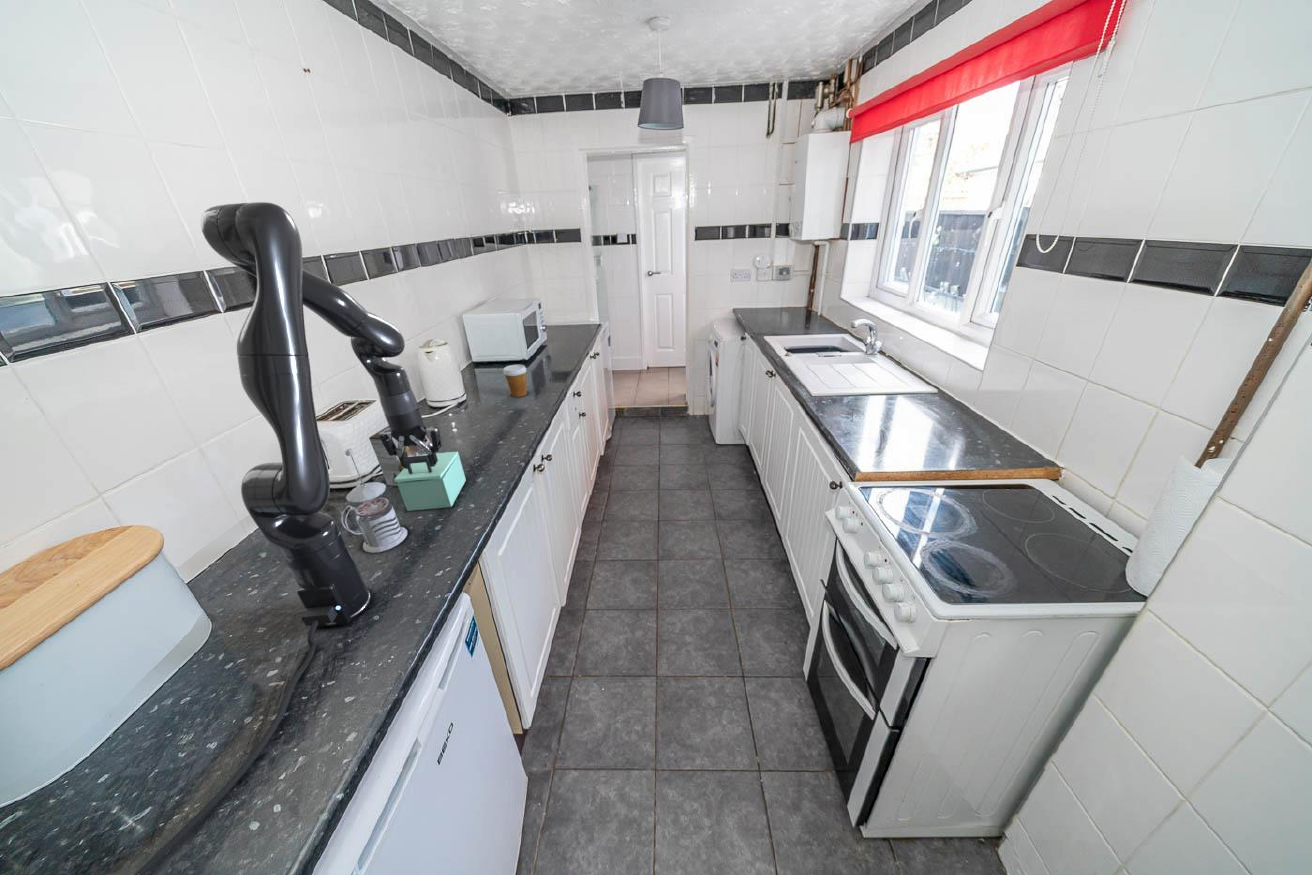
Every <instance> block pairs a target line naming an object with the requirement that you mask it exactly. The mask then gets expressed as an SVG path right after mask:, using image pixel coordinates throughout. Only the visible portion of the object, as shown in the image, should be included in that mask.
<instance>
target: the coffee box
mask: <svg viewBox="0 0 1312 875" xmlns="http://www.w3.org/2000/svg"><path fill="white" fill-rule="evenodd" d="M385 431H388V432H391V429H390V428H389V425H387V426H386V427H384V428H382V429H380V430H378V431H377V432H376V433H374V434H373V435H371V436H369V437H368V440H369V441H370V444H371V446H372V449H373V451H374V454H375V456H376V460H377V462H378V464H379V467H380V470H381V472H382V474H383V477H384V480H385V482H386V486H391V487H398V484H397V483H398V482H395V481H394V479H395V478H396V477H397V476H398V475H399V474H400V473H401V471H402V470H403V469H404V467H402V465H401V463H400V460H399V457H397V456H396V455H393V456H390V455H389V454H388V452H387V450H386V448H385V447H384V445H383V443H382V441H381V439H380V436H381V435H382V434H383V433H384V432H385ZM392 440H393V442H394V443H395V445H396V447H398V441H397V440H396V439H395V438H392ZM405 453H407V455H408V457H412V456H416V455H420V451H419V450H418V445H417V446H414V445H411V446H406V451H405Z"/></svg>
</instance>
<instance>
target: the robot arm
mask: <svg viewBox="0 0 1312 875" xmlns="http://www.w3.org/2000/svg"><path fill="white" fill-rule="evenodd" d="M200 228H201V233H202V235H203V237H204V239H205V241H206V242H207V243H208V245H209V246H210V248H211V249H212V250H213V251H215V253H217V254H218V255H219V256H220V257H221V258H223V259H224V260H225V261H227V262H229V263H230V264H232V265H234V266H236V267H238V269H241V270H243V271H244V272H246V273H248V274H250V275H252V276H254V277H256V293H255V297H254V301H253V304H252V306H251V308H250V310H249V312H248V314H247V316H246V318H245V320H244V323H243V324H242V327H241V329H240V332H239V334H238V338H237V342H236V356H237V363H238V364H237V365H238V370H239V379H240V384H241V386H242V388H243V390H244V392H245V394H246V396H247V397H248V399H249V401H251V403H252V404H253V406H254V407H255V408H256V409H257V411H258V412H259V413H260V415H262V417H263V418H264V419H265V420H266V422H267V423H268V424H269V426H270V427H271V428H272V430H273V432H274V434H275V437H276V438H277V442H278V445H279V450H280V455H281V461H280V462H264V463H260V464H258V465H257V464H256V465H255V466H253V467H252V468H250V469H249V470H248V471H247V472H246V473H245V475H244V476H243V479H242V481H241V486H240V493H241V494H240V495H241V498H242V502H243V505H244V507H245V509H246V511H247V513H248V514H249V516H250V517H251V519H252V520H253V522H254V523H255V525H256V526H257V528H258V529H259V531H260V532H261V534H262V535H263V537H264V538H265V540H266V541H267V542H268V543H269V544H271V545H272V546H273V547H275V548H277V550H278V551H279V553H280V554H281V556H282V558H283V560H284V562H285V563H286V565H287V567H288V569H289V571H290V572H291V574H292V576H293V578H294V579H295V581H296V583H297V586H298V587H299V588H298V589H297V590H296V594H297V595H298V597H299V599H300V601H301V603H302V604H303V606H304V608H305V609H306V610H305V611H304V612H303V614H301V616H300V619H301V620H302V622H303V624H304V626H305V627H308V626H310V627H309V630H308V634H307V643H308V645H309V646H308V647H309V648H308V652H307V656H306V657H305V660H304V661H303V663H302V665H301V666H300V667H299V669H298V670H297V671H296V672H295V674H294V675H293V677H292V679H291V680H290V683H288V685H287V689H286V691H285V693H284V696H283V698H282V701H281V704H280V705H279V708H278V711H277V713H276V715H275V717H274V719H273V721H272V723H271V725H270V726H269V728H268V729H267V731H266V733H265V734H264V735H263V737H262V739H261V740H260V742H259V743H258V744H257V746H256V747H255V749H254V750H253V751H252V753H251V754H250V755H249V756H248V758H247V759H246V760H245V761H244V762H243V764H242V765H241V766H240V768H238V770H237V771H236V772H235V773H234V775H233V776H232V777H231V778H230V779H229V780H228V781H227V783H226V784H225V785H224V786H223V787H222V788H221V789H220V790H219V792H217V794H215V795H214V797H213V798H212V799H211V800H209V802H208V803H207V804H206V805H204V807H203V808H201V810H200V811H199V812H198V813H197V814H195V815H194V816H193V817H192V818H191V819H190V820H189V822H187V823H186V824H185V825H184V826H183V827H182V828H181V829H180V830H179V831H177V833H176V834H175V835H174V836H173V837H172V838H171V839H170V840H169V841H167V843H166V844H164V845H163V847H161V848H160V850H158V851H157V852H156V853H155V854H154V855H153V856H152V857H151V858H150V859H149V860H148V861H147V862H145V863H144V865H143V866H141V867H140V868H139V869H138V870H137V871H136V872H135V873H133V875H138V874H139V875H146V874H148V872H149V871H150V870H151V869H153V867H154V866H155V865H156V864H157V863H158V862H160V861H161V860H162V859H163V858H164V857H165V856H166V855H167V854H168V853H169V852H171V850H172V849H173V848H174V847H175V846H176V845H177V844H179V842H180V841H182V839H183V838H184V837H185V836H186V835H187V834H188V833H189V832H190V831H191V830H192V829H193V828H194V827H195V826H196V825H197V824H198V823H200V821H201V820H202V819H203V818H204V817H206V816H207V814H209V812H211V811H212V810H213V809H214V808H215V806H217V804H219V802H220V801H221V800H222V799H223V798H224V797H225V796H226V795H227V794H228V793H229V791H231V789H233V787H234V786H235V785H236V784H237V783H238V782H239V780H240V779H241V778H242V777H243V776H244V775H245V773H246V772H247V771H248V769H249V768H250V767H251V766H252V764H253V763H254V762H255V761H256V760H257V759H258V757H259V756H260V754H261V753H262V751H264V749H265V748H266V747H267V744H268V743H269V741H270V740H271V738H272V737H273V735H274V733H275V732H276V730H277V728H278V727H279V726H280V723H281V721H282V719H283V717H284V715H285V713H286V711H287V709H288V707H289V703H290V700H291V698H292V695H293V692H294V690H295V687H296V685H297V683H298V682H299V679H300V678H301V677H302V675H303V674H304V672H305V671H306V669H307V667H308V666H309V664H310V662H311V660H312V659H313V656H314V655H315V653H316V648H317V642H316V641H315V635H316V634H315V633H316V630H317V628H324V627H336V626H344V625H345V626H346V625H349V624H350V623H351V621H352V620H353V619H355V618H357V617H358V616H359V615H361V614H362V613H363V612H364V611H365V610H366V609H367V608H368V606H369V605H370V604H371V600H372V595H371V592H370V590H368V588H367V585H366V583H365V581H364V578H363V577H362V575H361V572H360V570H359V568H358V565H357V563H356V562H355V558H354V557H353V555H352V553H351V551H350V548H349V547H348V544H347V542H346V539H345V537H344V536H343V533H342V531H341V529H340V526H339V525H338V522H337V520H336V519H335V517H333V516H332V515H330V514H327V513H325V512H321V510H323V508H324V507H325V506H326V505H327V503H328V501H329V497H330V491H331V480H330V474H329V470H328V466H327V460H326V457H325V453H324V449H323V444H322V440H321V435H320V432H319V427H318V420H317V415H316V407H315V401H314V394H313V383H312V382H313V381H312V371H311V362H310V355H309V349H308V343H307V335H306V326H305V312H304V307H305V308H307V309H308V310H310V311H311V312H312V313H314V314H315V315H317V316H318V317H319V318H321V320H323V321H325V322H326V323H327V324H328V325H330V326H331V327H332V328H333V329H334V330H336V331H337V332H339V333H340V334H341V335H343V336H345V337H349V338H350V346H351V349H352V351H353V353H354V355H355V356H356V358H357V359H358V361H359V362H360V364H361V365H362V366H363V367H364V369H365V371H366V372H367V373H368V375H369V376H370V377H371V379H372V381H373V384H374V387H375V389H376V392H377V394H378V398H379V403H380V406H381V408H382V411H383V414H384V416H385V420H386V422H387V426H389V428H390V429H391V432H388V431H385V432H384V433H383V434H382V435H381V436H380V439H381V441H382V443H383V445H384V447H385V448H386V450H387V452H388V454H389V455H390V456H393V455H396V456H397V457H399V460H400V463H401V465H402V467H404V468H405V469H407V465H406V464H404V462H403V459H404V457H408V455H407V453H405V451H406V446H411V445H414V446H417V447H418V448H420V449H421V450H423V451H424V452H425V454H428V455H427V456H428V459H429V462H430V465H431V467H434V466H435V465H436V463H437V462H438V459H437V456H436V453H439V451H440V449H441V448H442V439H441V434H440V428H439V427H437V426H435V427H434V428H427V426H425V424H424V420H423V416H422V414H421V410H420V408H419V404H418V401H417V399H416V395H415V393H414V391H413V389H412V386H411V383H410V381H409V378H408V375H407V372H406V370H405V368H404V367H403V366H401V365H399V364H396V363H392V362H389V361H388V360H387V359H388V358H395V357H398V356H400V355H401V354H403V352H404V349H405V346H406V343H405V338H404V336H403V334H402V333H401V332H400V330H399V329H398V327H396V326H394V325H393V324H392V323H390V322H389V321H387V320H385V319H383V318H381V317H380V316H378V315H376V314H375V313H372V312H370V311H368V310H367V309H366V308H364V306H363V305H361V303H359V302H358V301H357V300H356V299H355V298H354V297H353V296H352V295H350V294H349V293H348V292H346V291H345V290H344V289H342V287H339V286H338V285H336V284H334V283H332V282H331V281H328V280H326V279H324V278H323V277H320V276H318V275H316V274H313V273H311V272H310V271H307V270H306V269H304V268H303V246H302V239H301V235H300V232H299V229H298V226H297V223H296V222H295V220H294V219H293V217H292V216H291V215H290V214H289V212H288V211H287V210H286V209H285V208H284V207H282V206H280V205H278V204H276V203H273V202H265V201H263V202H262V201H257V202H255V201H253V202H242V203H226V204H219V205H215V206H211V207H209V208H206V210H205V211H203V213H202V215H201V218H200ZM427 435H428V437H429V438H431V440H430V439H429V438H428V437H427ZM392 438H395V439H396V440H397V441H398V447H396V445H395V443H394V442H393V440H392ZM410 465H411V464H410Z"/></svg>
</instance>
